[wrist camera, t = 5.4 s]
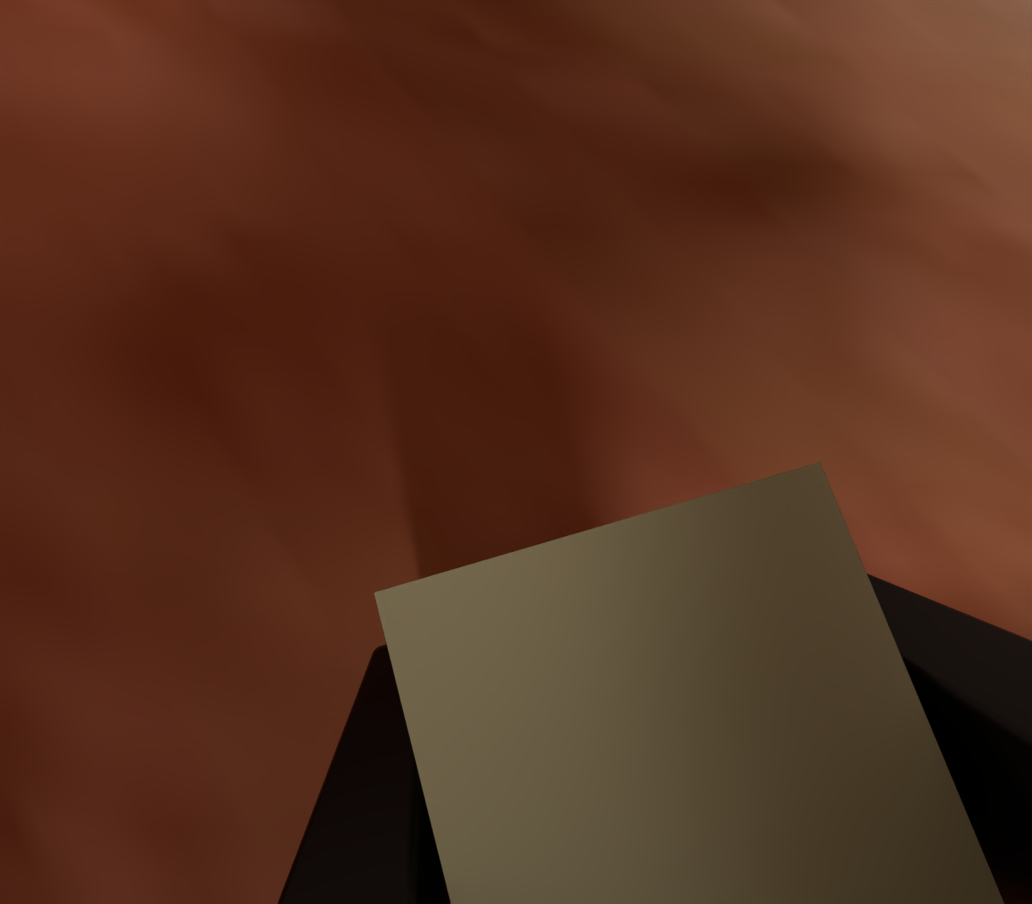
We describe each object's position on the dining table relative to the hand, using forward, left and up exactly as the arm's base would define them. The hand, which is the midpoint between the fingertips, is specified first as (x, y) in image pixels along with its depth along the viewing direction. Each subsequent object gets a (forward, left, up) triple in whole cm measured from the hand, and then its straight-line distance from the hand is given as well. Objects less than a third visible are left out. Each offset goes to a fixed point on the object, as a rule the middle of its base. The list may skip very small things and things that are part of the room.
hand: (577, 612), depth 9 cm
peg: (0, -1, -7) cm, 7 cm away
